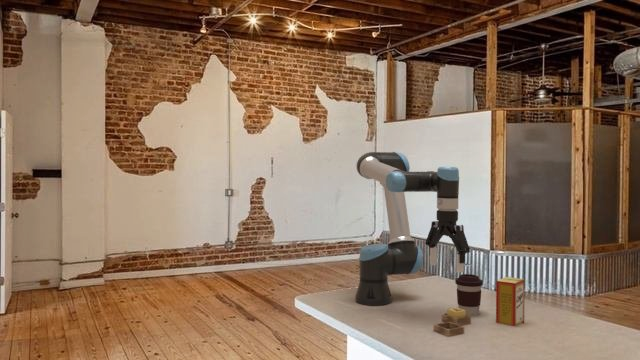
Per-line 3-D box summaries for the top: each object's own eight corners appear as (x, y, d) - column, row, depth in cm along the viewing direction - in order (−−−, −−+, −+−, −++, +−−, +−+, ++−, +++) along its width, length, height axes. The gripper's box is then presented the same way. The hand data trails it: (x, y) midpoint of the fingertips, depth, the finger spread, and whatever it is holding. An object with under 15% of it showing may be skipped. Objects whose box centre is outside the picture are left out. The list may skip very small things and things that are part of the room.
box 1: (441, 322, 184) (441, 314, 184) (456, 320, 188) (456, 311, 188) (455, 328, 178) (456, 319, 178) (470, 325, 182) (471, 316, 182)
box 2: (433, 333, 173) (433, 324, 173) (449, 330, 177) (449, 321, 177) (448, 339, 167) (448, 330, 167) (464, 336, 171) (464, 327, 171)
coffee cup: (483, 319, 190) (484, 278, 189) (455, 318, 192) (456, 277, 191) (481, 312, 199) (481, 273, 199) (454, 311, 201) (454, 272, 201)
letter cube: (446, 321, 184) (447, 308, 184) (456, 320, 186) (456, 307, 186) (456, 325, 180) (456, 311, 180) (465, 323, 182) (465, 310, 182)
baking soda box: (514, 328, 179) (515, 282, 179) (496, 325, 183) (496, 279, 183) (524, 322, 186) (524, 278, 186) (506, 319, 190) (506, 275, 190)
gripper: (416, 207, 196) (415, 263, 196) (465, 213, 174) (463, 276, 175) (431, 206, 199) (430, 261, 200) (481, 212, 178) (480, 274, 178)
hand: (446, 268), depth 187 cm, fingers open, 13 cm apart
